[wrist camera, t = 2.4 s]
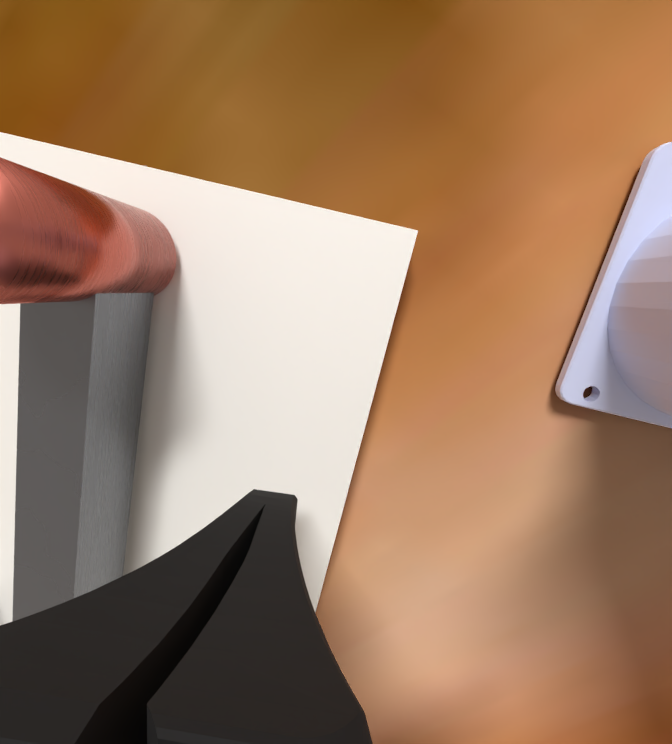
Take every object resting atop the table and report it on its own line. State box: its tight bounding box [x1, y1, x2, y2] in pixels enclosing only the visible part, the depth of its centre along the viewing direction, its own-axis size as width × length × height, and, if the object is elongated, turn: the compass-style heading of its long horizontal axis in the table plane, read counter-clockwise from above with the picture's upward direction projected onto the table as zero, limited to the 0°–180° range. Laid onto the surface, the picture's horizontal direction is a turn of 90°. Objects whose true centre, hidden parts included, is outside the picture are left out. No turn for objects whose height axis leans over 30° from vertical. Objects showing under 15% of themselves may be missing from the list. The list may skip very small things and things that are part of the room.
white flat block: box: [0, 132, 418, 625], centre depth 12 cm, size 16×22×4 cm
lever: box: [0, 157, 177, 622], centre depth 10 cm, size 21×4×5 cm, turn 167°
